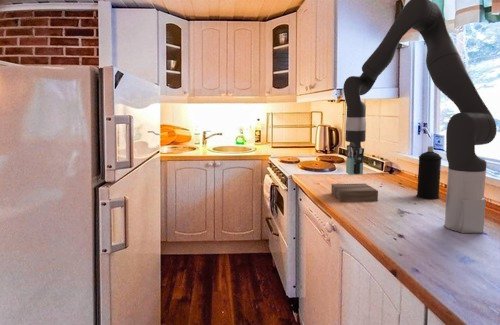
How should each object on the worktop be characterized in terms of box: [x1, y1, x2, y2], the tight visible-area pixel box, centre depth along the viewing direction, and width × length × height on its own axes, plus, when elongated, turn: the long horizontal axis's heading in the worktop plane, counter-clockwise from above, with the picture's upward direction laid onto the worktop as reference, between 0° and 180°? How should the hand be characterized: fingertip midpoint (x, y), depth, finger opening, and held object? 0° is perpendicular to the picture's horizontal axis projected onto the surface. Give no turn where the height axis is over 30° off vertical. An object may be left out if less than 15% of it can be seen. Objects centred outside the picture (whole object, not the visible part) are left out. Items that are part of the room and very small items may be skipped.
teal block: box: [345, 157, 364, 176], centre depth 142 cm, size 5×5×6 cm
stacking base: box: [331, 183, 379, 203], centre depth 144 cm, size 14×14×4 cm
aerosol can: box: [415, 145, 443, 200], centre depth 142 cm, size 8×8×20 cm
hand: (354, 172), depth 143 cm, fingers closed on teal block, 5 cm apart
